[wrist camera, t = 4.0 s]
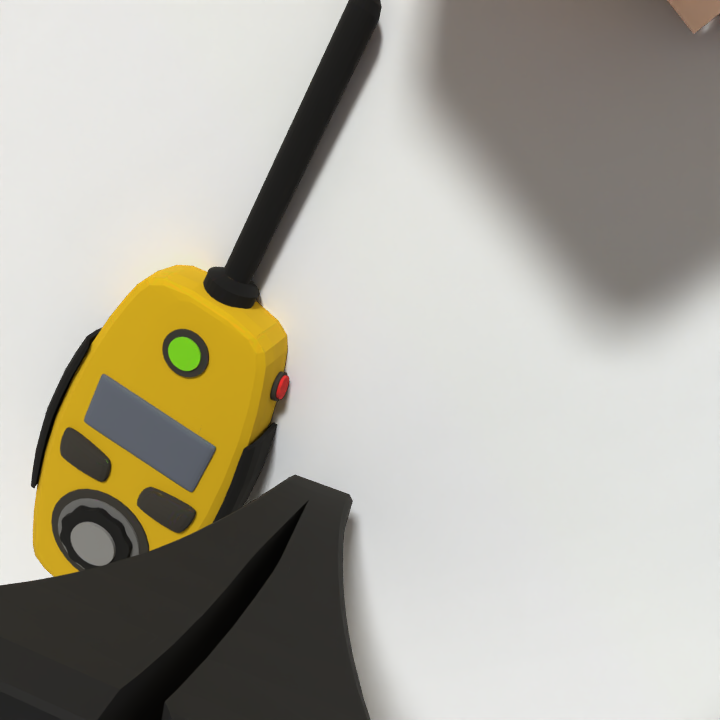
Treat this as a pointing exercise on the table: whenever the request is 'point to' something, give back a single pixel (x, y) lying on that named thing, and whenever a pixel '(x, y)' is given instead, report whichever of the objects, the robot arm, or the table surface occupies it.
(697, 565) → the table surface
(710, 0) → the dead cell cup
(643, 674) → the table surface
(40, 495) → the yellow walkie talkie
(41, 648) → the robot arm
